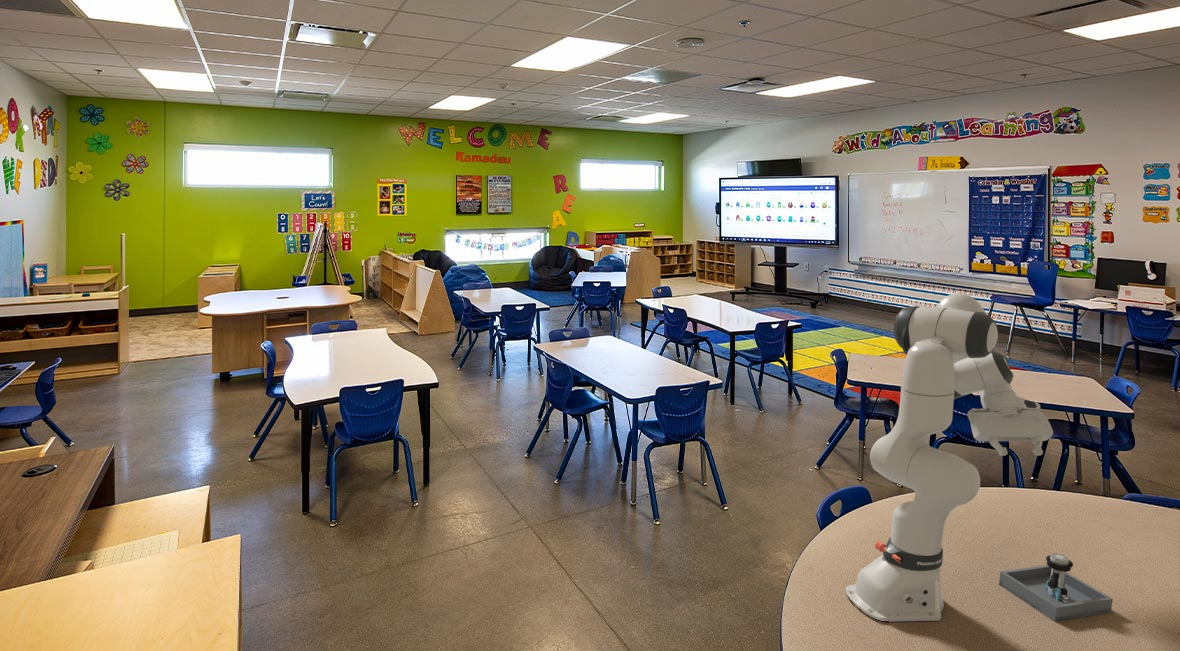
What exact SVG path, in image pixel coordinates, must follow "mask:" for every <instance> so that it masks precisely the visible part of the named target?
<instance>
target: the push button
mask: <svg viewBox="0 0 1180 651" xmlns="http://www.w3.org/2000/svg"><path fill="white" fill-rule="evenodd" d="M1045 557H1046V558H1045V560H1046V565H1048V566H1049V567H1050V568H1051V577H1050V579H1049V580H1047V583H1046V590H1047V591H1048V594H1049V595H1052V596H1053V597H1054V598H1056V599H1057V600H1062V601H1064V602H1065V601H1066V599H1068V598H1067V597H1066V596H1067V592H1068V591H1067V589H1065V587H1064V584H1065V583H1064V577H1065V572H1067V573H1068V572H1070V571H1071V570H1072V567H1074V563H1073V561H1071V560H1070V558H1069V557H1068V556H1066V555H1065V554H1060V553H1058V552H1057V553H1055V552H1054V553H1051V554H1050V555H1047V556H1045ZM1065 597H1066V598H1065ZM1066 603H1068V602H1067V601H1066Z"/></svg>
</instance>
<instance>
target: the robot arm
mask: <svg viewBox="0 0 1180 651" xmlns="http://www.w3.org/2000/svg"><path fill="white" fill-rule="evenodd" d="M894 319H895V320H894V323H893V337H894V339H895V341H896V344H898V346H899V347H900V348H901V349H902V351H903V353H904V354H905V355H906V357H905V360H904V364H903V370H902V375H901V383H900V395H899V396H900V398H899V400H900V401H899V408H898V415H897V419H896V422H895V424H894V426H893V427H892V430H891V431H889V432H888V433H887V434H885V435H884V436H881V437H880V438H878V439H877V440H876V441H875V442H874V443H873V445H872V447H871V450H870V454H869V459H870V465H871V467H872V469H873V471H875V472H877V473H878V474H879V475H881V476H882V477H884V478H885V479H887V480H888V481H891V482H892V483H896V484H898V485H900V486H903V487H905V488H908V489H911V490H912V491H913V492H914V498H913V500H910V501H906V502H901V503H900V504H898V506H896V507H895V509H894V510H893V512H892V519H891V531H890V537H889V539H888V541H887V542H886V544H885V543H884V542H882V541H880V540H877V541H876V542H875V544H874V548H875V549H876V550H878V551H879V552H881V553H882V554H881V555H880V556H878V557H877V558H875V559H874V560H873V561H872V562H870V563H869V564H868V565H865V567H863V568H862V569H861V570H859V572H858V575H857V578H856V582H855V583H854V584H850V585H847V586H846V587H845V589H846V593H847V595H848V597H849V598H850V599H851V600H852V601H853V602H854V603H855V604H856V606H858V607H859V608H860V609H861V610H862V611H864V612H865V613H866V614H868V615H869V616H871V617H873V618H875V619H877V620H881V621H889V622H926V621H927V622H928V621H929V622H930V621H932V622H936V621H937V622H938V621H941V620H942V613H941V612H942V611H943V609H944V606H945V603H944V599H943V595H942V586H941V567H942V566H943V556H944V549H943V547H942V545H943V537H944V536H943V535H944V530H945V525H946V521H947V518H948V517H949V515H950V514H951V513H952V511H953V510H954V509H956V508H958V507H959V506H962V505H965V504H968V503H969V502H971V501H972V500H974V498H976V496H978V495H977V494H978V493H979V490H980V487H981V475H980V473H979V471H978V469H977V467H976V466H975V465H974V464H972V463H971V462H969V461H967V460H965V459H964V458H962V457H960V456H958V455H957V454H953V453H951V452H947V451H945V450H940V449H938V448H935V447H932V446H930V443H929V442H930V437H931V435H934V434H938V433H942V432H944V431H945V430H947V429H948V428H949V427H950V426H951V424H952V422H953V417H954V416H953V414H954V401H955V400H956V399H958V398H962V397H964V396H966V395H970V394H975V393H978V394H979V396H980V404H981V405H982V408H970V410H968V411H967V414H966V416H967V418H968V420H969V422H970V428H971V432H972V435H973V438H974V439H975V440H976V441H977V442H989V444H990V446H991V447H993V448H994V449H995V450H996V451H997V453H998V455H999V456H1000V457H1001V456H1006V455H1008V454H1009V451H1008V450H1007V447H1005V446H1004V447H1003V446H1002V444H1000V443H999V442H1032V444H1033V445H1035V446H1034V447H1033V448H1032V453H1033V456H1042V455H1043V453H1044V451H1043V449H1042V447H1043V442H1045V441H1046V442H1047V441H1048V440H1049V439H1050V438H1051V437H1053V434H1054V430H1053V428H1052V425H1051V423H1050V421H1049V420H1048V418H1047V416H1046V414H1044V412H1042V411H1040V409H1041V405H1040V404H1039V402H1037V401H1033V400H1031V399H1026V398H1024V397H1020V396H1017V394H1016V392H1015V391H1014V390H1013V388H1012V386H1011V383H1012V381H1013V379H1014V377H1015V376H1014V373H1013V372H1012V370H1011V369H1010V365H1009V362H1008V359H1007V357H1006V356H1005V355H1004V354H1001V353H1000V352H997V351H994V349H995V348H996V347H995V346H996V345H997V342H998V338H999V332H998V325H997V322H996V321H995V320H994V318H993V317H992V316H991V315H989V314H987V312H986V311H985V309H984V308H983V306H982V305H981V304H980V302H979V301H978V300H976V299H975V297H973V296H971V295H970V294H967V293H962V292H955V293H952V294H949V295H947V296H945V297H943V298H942V299H941V300H940V301H939V303H938V305H937V307H936V306H927V307H925V306H924V307H920V305H917V306H915V305H913V306H907V307H904V308H902V309H901V310H900V311H899V312H898V313H897V314H896V317H895V318H894ZM846 593H845V594H846ZM850 593H852V594H850ZM848 597H847V598H848ZM856 606H855V607H856ZM870 612H872V613H870ZM866 614H865V615H866ZM869 616H868V617H869ZM871 617H870V618H871ZM873 618H872V619H873ZM875 619H874V620H875ZM877 620H876V621H877ZM881 621H880V622H881Z"/></svg>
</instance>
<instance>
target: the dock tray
mask: <svg viewBox="0 0 1180 651" xmlns="http://www.w3.org/2000/svg"><path fill="white" fill-rule="evenodd" d="M1050 577H1051V568H1050V567H1049V566H1048V565H1047V564H1045V565H1039V566H1033V567H1025V568H1017V569H1009V570H1003V571H1000V573H999V579H998V585H999V586H1000V587H1002V588H1004V589H1005V590H1007V592H1010V593H1011V594H1013V595H1014V596H1016V597H1017V598H1019V600H1021V601H1023V602H1025V603H1026V604H1028V605H1029V606H1030V607H1032V608H1033V609H1035V610H1036V611H1038V612H1040V613H1041V614H1042V615H1044V616H1046V617H1047V618H1048V619H1050V620H1052V621H1053V622H1061V621H1067V620H1072V619H1079V618H1086V617H1092V616H1097V615H1098V616H1099V615H1103V614H1110V613H1112V607H1113V599H1114V598H1111V597H1110V596H1109V595H1107V594H1105V593H1103V592H1102V591H1100V590H1098V589H1096V588H1095V587H1093V586H1091V585H1089V584H1087V583H1086V582H1084V581H1083V580H1080V578H1077V577H1075V576H1074V575H1072V574H1070V572H1069V573H1068V572H1065V577H1064V583H1065V584H1064V587H1065V589H1067V591H1068V592H1067V596H1066V597H1067V598H1068V599H1066V601H1067V602H1068V603H1066V601H1065V602H1064V601H1062V600H1057V599H1056V598H1054V597H1053V596H1052V595H1049V594H1048V591H1047V590H1046V583H1047V580H1049V579H1050ZM1066 597H1065V598H1066Z"/></svg>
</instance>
